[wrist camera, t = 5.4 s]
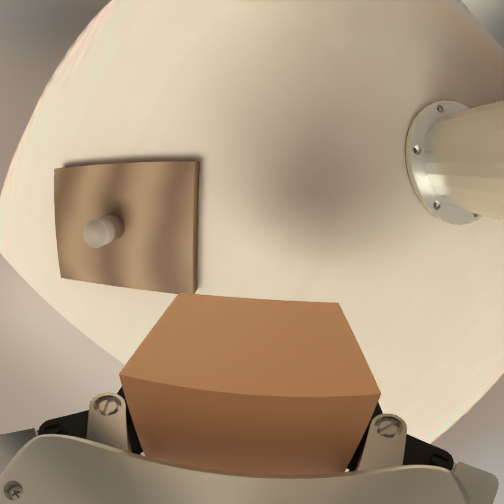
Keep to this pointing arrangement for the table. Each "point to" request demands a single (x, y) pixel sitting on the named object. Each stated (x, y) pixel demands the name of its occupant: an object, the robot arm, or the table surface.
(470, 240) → the table surface
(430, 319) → the table surface
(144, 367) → the light orange cube
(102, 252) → the base plate
